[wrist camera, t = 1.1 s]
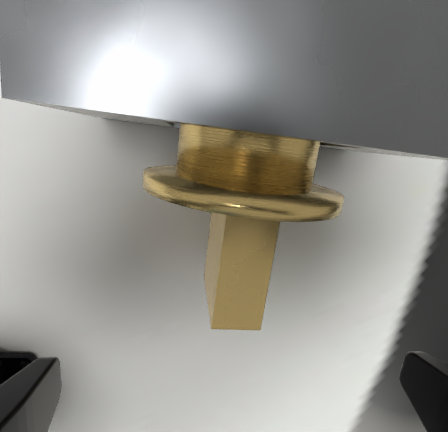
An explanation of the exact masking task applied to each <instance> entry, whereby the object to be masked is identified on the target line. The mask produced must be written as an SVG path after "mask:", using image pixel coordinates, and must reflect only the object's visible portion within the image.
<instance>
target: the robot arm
mask: <svg viewBox="0 0 448 432" xmlns="http://www.w3.org/2000/svg"><path fill="white" fill-rule="evenodd" d="M24 361H26V362H28V363H25V362H24ZM399 380H400V384H401V386H402V388H403V390H404V392H405V393H406V395H407V397H408V399H409V401H410V402H411V404H412V406H413V408H414V409H415V411H416V413H417V415H418V417H419V419H420V420H421V422H422V424H423V426H424V427H425V429H426V431H427V432H448V364H447V363H445V362H443V361H441V360H439V359H437V358H435V357H433V356H431V355H429V354H427V353H425V352H408V353H407V354H406V355H405V358H404V362H403V365H402V368H401V371H400V376H399ZM60 392H61V374H60V361H59V359H58V358H56V357H42V358H38V359H36V357H35V356H34V355H32V354H29V353H0V432H48V429H49V426H50V423H51V420H52V417H53V415H54V412H55V409H56V406H57V403H58V400H59V397H60Z"/></svg>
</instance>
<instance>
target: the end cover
mask: <svg viewBox="0 0 448 432" xmlns="http://www.w3.org/2000/svg"><path fill="white" fill-rule="evenodd" d="M319 147H320V142H314V141H307V140H299V139H292V138H285V137H277V136H270V135H262V134H255V133H247V132H240V131H233V130H225V129H218V128H210V127H203V126H195V125H188V124H181V123H180V131H179V144H178V156H177V166H155V167H149V168H146V169H144V173H143V188H144V189H145V190H146V191H147V192H148V193H150V194H151V195H153V196H156V197H158V198H160V199H163V200H166V201H168V202H171V203H175V204H178V205H181V206H185V207H189V208H193V209H197V210H202V211H207V212H212V214H211V222H210V231H209V239H208V248H207V256H206V265H205V273H204V280H205V287H206V294H207V302H208V309H209V316H210V324H211V329H233V330H260V329H261V324H262V318H263V313H264V307H265V302H266V296H267V291H268V285H269V280H270V274H271V268H272V263H273V257H274V252H275V246H276V241H277V235H278V230H279V224H280V221H292V222H309V221H323V220H329V219H333V218H336V217H338V216H339V215H340V213H341V210H342V206H343V201H344V196H343V195H342V194H340V193H338V192H336V191H334V190H331V189H328V188H325V187H322V186H319V185H315V184H312V182H313V177H314V172H315V167H316V162H317V157H318V152H319Z"/></svg>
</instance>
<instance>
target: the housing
mask: <svg viewBox="0 0 448 432" xmlns="http://www.w3.org/2000/svg"><path fill="white" fill-rule="evenodd" d="M0 73H1V88H2V98H6V99H11V100H16V101H21V102H26V103H31V104H36V105H41V106H46V107H51V108H56V109H61V110H66V111H71V112H75V113H80V114H85V115H90V116H95V117H100V118H106V119H114V120H121V121H129V122H136V123H144V124H151V125H159V126H167V127H174V128H180V123H181V124H188V125H195V126H203V127H210V128H218V129H225V130H233V131H240V132H247V133H255V134H262V135H270V136H277V137H285V138H292V139H299V140H307V141H314V142H320V147H326V148H333V149H341V150H349V151H360V152H370V153H380V154H391V155H401V156H411V157H421V158H432V159H442V160H448V0H0Z"/></svg>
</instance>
